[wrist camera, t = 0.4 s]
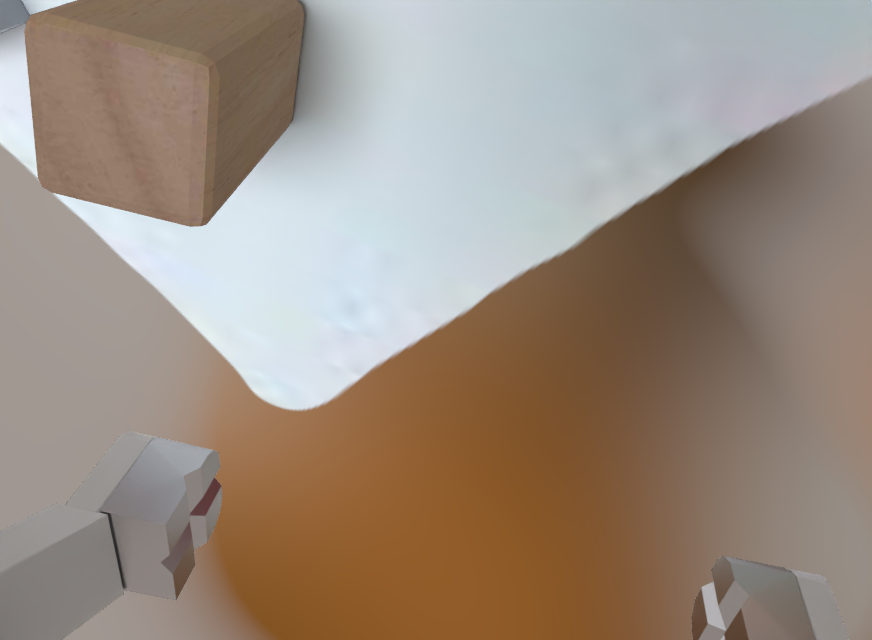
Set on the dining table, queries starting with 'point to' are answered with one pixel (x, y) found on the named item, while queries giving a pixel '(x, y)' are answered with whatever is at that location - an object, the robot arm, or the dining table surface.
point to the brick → (12, 14)
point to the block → (160, 99)
